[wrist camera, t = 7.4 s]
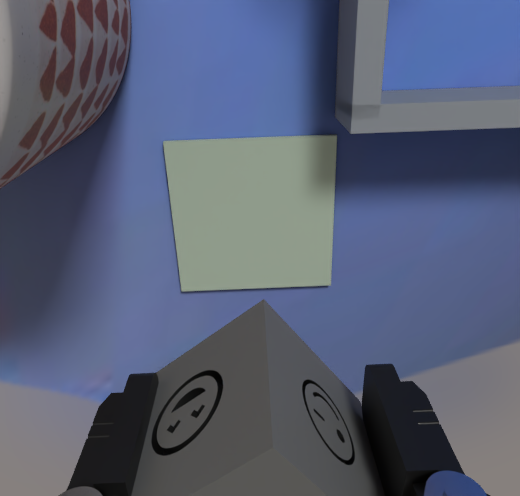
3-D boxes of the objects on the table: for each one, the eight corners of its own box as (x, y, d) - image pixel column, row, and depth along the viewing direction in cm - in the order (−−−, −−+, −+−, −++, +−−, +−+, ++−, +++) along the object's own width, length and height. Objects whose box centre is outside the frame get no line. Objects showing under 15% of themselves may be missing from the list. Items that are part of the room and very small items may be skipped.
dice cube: (360, 401, 15) (410, 568, 10) (239, 470, 16) (236, 645, 11) (263, 299, 13) (272, 447, 8) (136, 386, 14) (85, 555, 10)
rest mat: (336, 134, 24) (337, 135, 24) (329, 282, 28) (330, 285, 28) (163, 141, 24) (163, 142, 24) (182, 288, 28) (181, 291, 28)
